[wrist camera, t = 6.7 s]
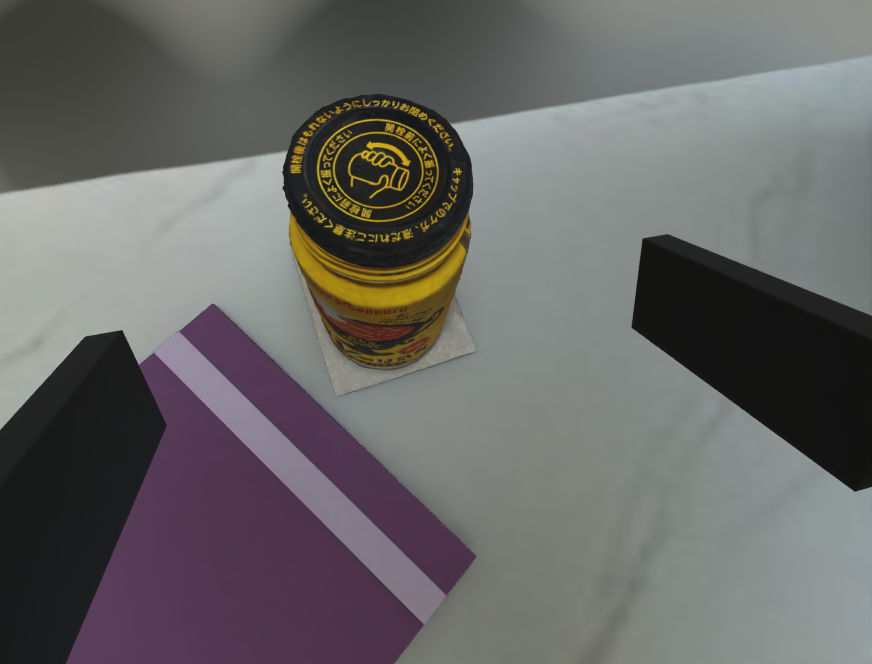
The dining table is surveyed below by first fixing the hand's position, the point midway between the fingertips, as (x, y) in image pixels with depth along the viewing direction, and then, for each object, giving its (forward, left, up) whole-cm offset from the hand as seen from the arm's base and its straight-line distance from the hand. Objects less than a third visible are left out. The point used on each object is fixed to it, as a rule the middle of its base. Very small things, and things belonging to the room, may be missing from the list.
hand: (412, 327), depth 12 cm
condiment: (-3, -4, -11) cm, 13 cm away
